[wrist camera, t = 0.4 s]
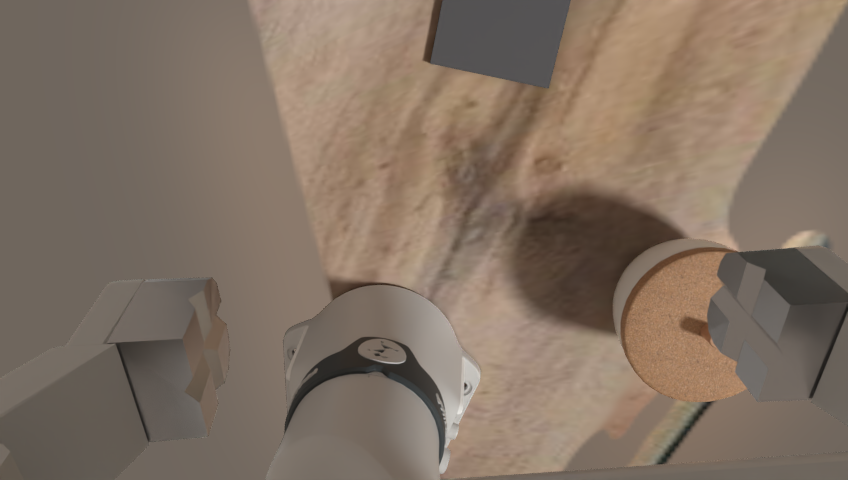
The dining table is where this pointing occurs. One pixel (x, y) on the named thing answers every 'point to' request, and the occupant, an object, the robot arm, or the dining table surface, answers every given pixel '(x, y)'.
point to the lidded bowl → (674, 320)
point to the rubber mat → (501, 38)
